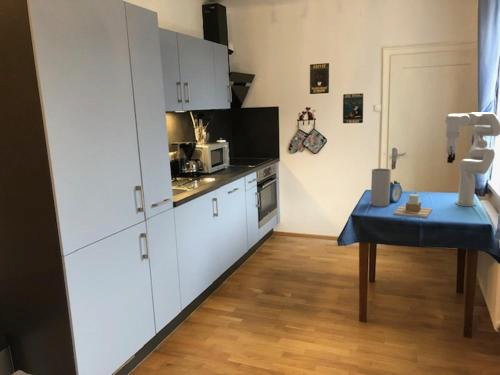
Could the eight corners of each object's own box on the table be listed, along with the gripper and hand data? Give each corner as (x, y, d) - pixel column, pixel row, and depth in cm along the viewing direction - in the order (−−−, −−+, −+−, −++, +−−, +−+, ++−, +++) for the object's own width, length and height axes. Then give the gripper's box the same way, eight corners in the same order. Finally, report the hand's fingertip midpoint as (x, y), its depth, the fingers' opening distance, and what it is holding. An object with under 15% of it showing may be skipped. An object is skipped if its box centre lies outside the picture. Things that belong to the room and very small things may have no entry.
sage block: (410, 201, 270) (410, 194, 269) (418, 202, 267) (418, 194, 266) (408, 203, 266) (409, 195, 265) (417, 203, 263) (417, 196, 262)
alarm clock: (391, 203, 290) (392, 183, 287) (383, 202, 295) (384, 182, 292) (401, 200, 298) (402, 180, 294) (394, 199, 302) (395, 179, 299)
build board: (400, 206, 281) (400, 197, 280) (431, 210, 271) (432, 200, 270) (393, 214, 265) (394, 204, 263) (426, 217, 254) (427, 207, 253)
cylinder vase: (384, 208, 280) (385, 172, 275) (367, 205, 288) (368, 170, 283) (392, 204, 289) (393, 169, 283) (375, 201, 297) (377, 167, 292)
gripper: (448, 133, 267) (446, 159, 271) (444, 136, 253) (442, 163, 257) (460, 133, 263) (459, 159, 267) (457, 136, 249) (455, 164, 253)
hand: (451, 161), depth 262 cm, fingers open, 9 cm apart
